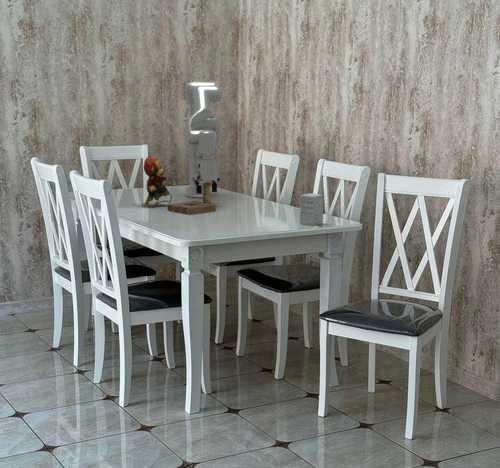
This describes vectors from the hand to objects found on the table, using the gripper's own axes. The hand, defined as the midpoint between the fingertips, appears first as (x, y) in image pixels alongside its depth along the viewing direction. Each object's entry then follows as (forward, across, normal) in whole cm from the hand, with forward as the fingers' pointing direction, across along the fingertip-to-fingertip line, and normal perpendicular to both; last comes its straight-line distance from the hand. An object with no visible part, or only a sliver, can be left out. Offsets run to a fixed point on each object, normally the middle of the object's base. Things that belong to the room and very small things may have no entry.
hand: (206, 192), depth 395 cm
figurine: (+7, +10, +12) cm, 17 cm away
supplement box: (+9, +4, -63) cm, 64 cm away
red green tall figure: (+7, -15, +21) cm, 26 cm away
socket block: (+7, -12, -2) cm, 14 cm away
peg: (+7, 0, +1) cm, 7 cm away
